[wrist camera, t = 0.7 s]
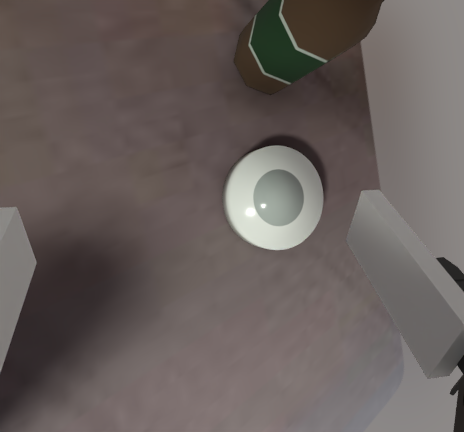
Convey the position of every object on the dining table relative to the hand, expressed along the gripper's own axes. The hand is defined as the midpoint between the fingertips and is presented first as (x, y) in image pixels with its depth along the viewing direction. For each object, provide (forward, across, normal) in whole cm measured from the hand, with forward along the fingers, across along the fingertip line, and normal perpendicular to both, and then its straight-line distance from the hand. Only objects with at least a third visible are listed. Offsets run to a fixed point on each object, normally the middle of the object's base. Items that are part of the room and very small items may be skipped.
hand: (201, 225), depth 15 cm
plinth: (+22, +10, -15) cm, 28 cm away
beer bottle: (+31, +10, -3) cm, 33 cm away
